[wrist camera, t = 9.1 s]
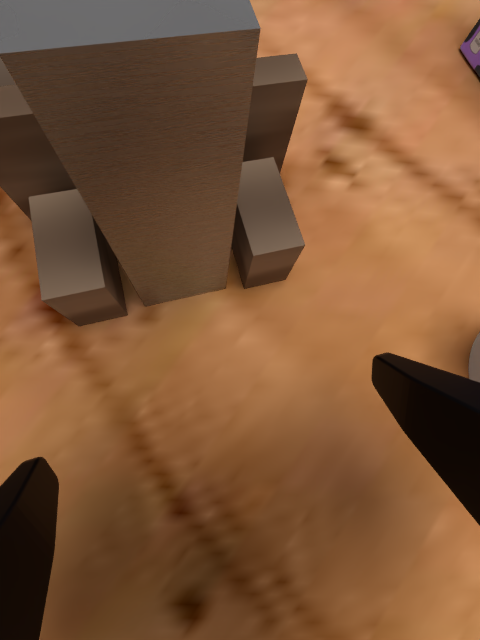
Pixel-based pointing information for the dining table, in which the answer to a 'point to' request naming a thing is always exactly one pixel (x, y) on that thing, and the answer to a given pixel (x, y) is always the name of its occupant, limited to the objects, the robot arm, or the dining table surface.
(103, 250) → the bench
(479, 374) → the wall hook
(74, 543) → the dining table surface
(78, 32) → the grey square pillar
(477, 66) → the candy box
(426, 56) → the dining table surface
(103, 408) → the dining table surface
